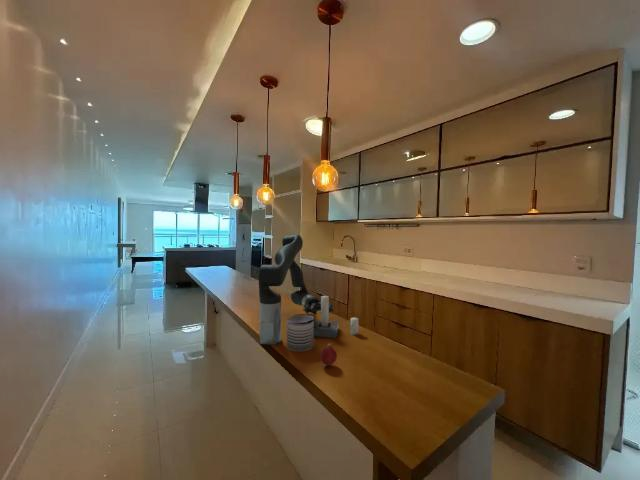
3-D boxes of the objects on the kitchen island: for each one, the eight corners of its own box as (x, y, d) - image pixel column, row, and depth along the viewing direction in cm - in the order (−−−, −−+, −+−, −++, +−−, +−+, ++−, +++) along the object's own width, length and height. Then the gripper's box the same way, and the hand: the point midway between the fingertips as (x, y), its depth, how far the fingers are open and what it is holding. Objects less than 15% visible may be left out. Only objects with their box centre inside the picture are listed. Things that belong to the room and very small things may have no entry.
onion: (322, 370, 96) (323, 348, 95) (318, 363, 101) (318, 341, 101) (338, 368, 97) (339, 346, 97) (333, 361, 103) (333, 340, 102)
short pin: (358, 335, 128) (358, 320, 128) (350, 334, 129) (350, 319, 129) (358, 332, 132) (358, 317, 132) (350, 331, 132) (350, 317, 132)
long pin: (327, 333, 130) (328, 297, 129) (320, 333, 130) (320, 297, 130) (328, 331, 133) (329, 296, 133) (321, 330, 134) (321, 295, 133)
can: (301, 354, 108) (301, 324, 108) (280, 346, 115) (280, 318, 115) (319, 344, 117) (319, 316, 117) (298, 338, 124) (299, 311, 124)
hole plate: (335, 337, 125) (335, 330, 125) (309, 336, 127) (309, 328, 127) (338, 328, 137) (338, 321, 136) (314, 326, 139) (314, 320, 138)
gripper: (298, 297, 144) (310, 305, 129) (323, 295, 150) (337, 302, 135) (298, 311, 144) (310, 321, 129) (323, 308, 150) (337, 317, 135)
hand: (324, 311), depth 132 cm, fingers open, 8 cm apart
